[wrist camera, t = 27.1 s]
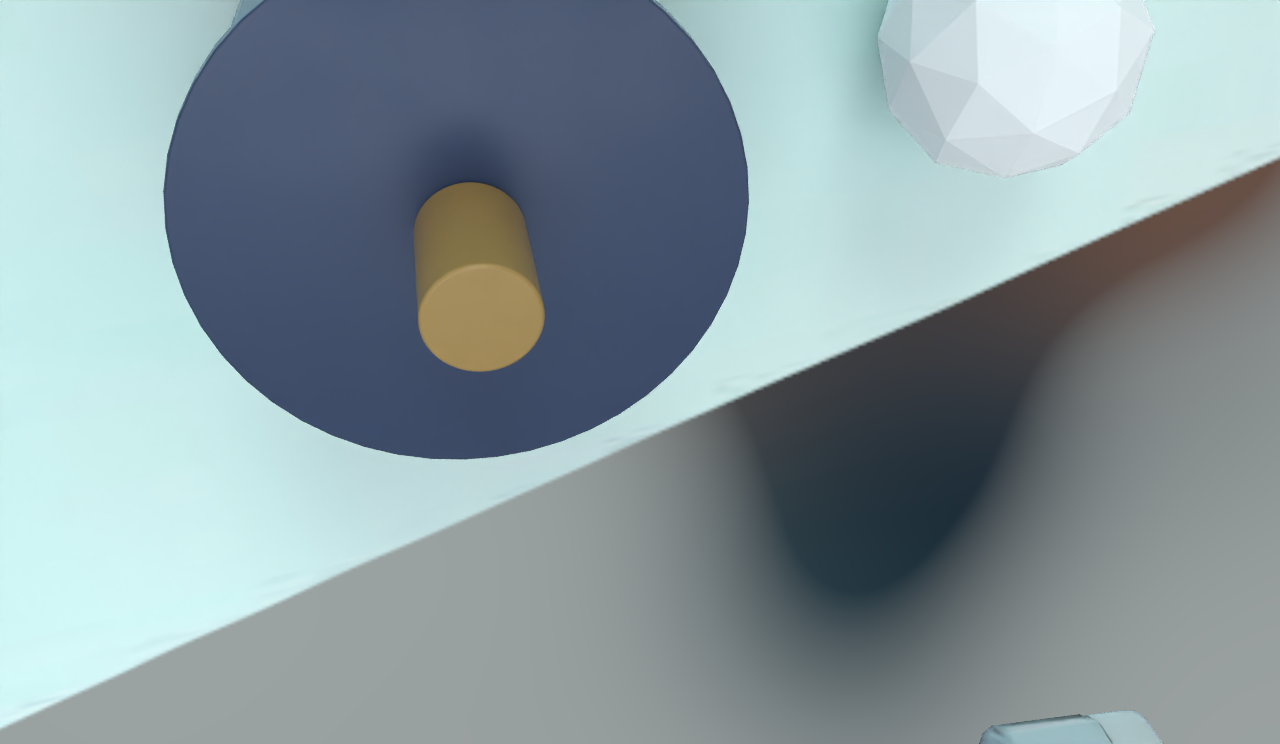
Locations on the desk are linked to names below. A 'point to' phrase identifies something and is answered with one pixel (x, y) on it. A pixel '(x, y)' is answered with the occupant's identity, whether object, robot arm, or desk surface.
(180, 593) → the desk surface
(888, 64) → the ball
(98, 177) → the desk surface
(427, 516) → the desk surface
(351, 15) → the tin lid
